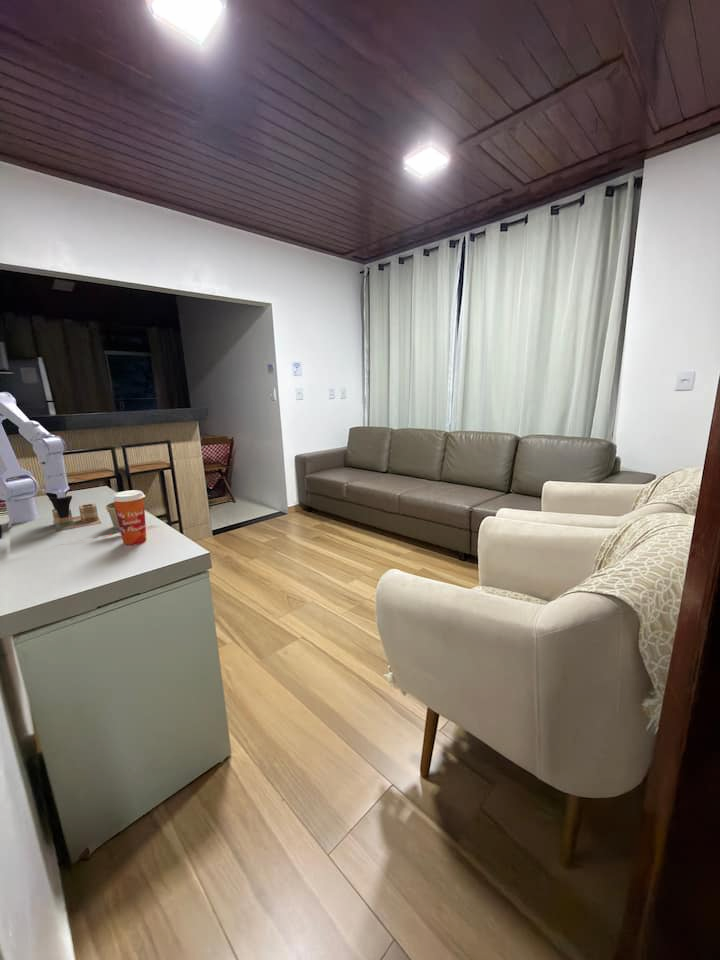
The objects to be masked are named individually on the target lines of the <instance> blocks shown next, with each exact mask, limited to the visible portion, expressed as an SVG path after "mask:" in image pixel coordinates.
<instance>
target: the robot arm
mask: <svg viewBox="0 0 720 960" xmlns="http://www.w3.org/2000/svg"><path fill="white" fill-rule="evenodd" d="M6 419H8V420H9V421H10V422H11V423H13V424H14V425H16V426H17V427H18V433H19V435H21V436H22V437H24V438H25V439H26V440H27V441H28V443H30V444H31V445H32V450H33V452H34V454H35V455H36V457H37V460H38V462H39V463H40V465H41V471H42V475H43V476H42V477H43V481H44V485H45V486H44V487H45V488H42V489H40V491H41V493H45V496H47V497H48V500H49V501H50V502H51V504H52V507H53V509H56V510H57V513H58V515H59V517H60V518H66V517H68V516H69V508H70V504H71V501H72V499H73V495H67V494H68V491H69V490H70V486H69V483H68V482H69V481H68V477H67V470H66V467H65V461H64V455H63V454H64V453H65V452H66V451H67V450H66V449H67V445H66V442H65V440H64V439H63V437H61V436H60V435H54V434H51V432H49V431H48V430H47V429H45V427H44V426H42V425H41V424H40V422H38V421H37V420H36V421H35V420H30V419H29V418H28V417H27V416H26V414H25V413H24V412H23V411H22V410H21V409H20V408H19V407H18V406H17V400H16V398H15V397H14V396H13V395H12V394H11V393H10V392H7V391H2V392H0V500H2V501H4V502H5V507H6V511H7V516H8V526H7V527H8V528H9V529H12V527H13V524H23V523H28V522H31V521H35V520H37V519H38V514H37V508H36V503H35V498H34V497H35V496H36V493H37V492H38V491H39V483H38V481H37V480H36V479H35V477H34V476H33V475H32V472H31V471H29V470H27V469H25V468H22V467H21V466H20V463H19V461H18V459H17V456H16V454H15V452H14V450H13V448H12V447H13V446H12V444H11V443H10V440H9V437H8V436H7V434H6V431H5V429H4V427H3V424H2V423H3V420H6Z"/></svg>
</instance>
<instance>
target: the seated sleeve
mask: <svg viewBox="0 0 720 960" xmlns="http://www.w3.org/2000/svg"><path fill="white" fill-rule="evenodd" d="M78 509H79V514H80V515H79V516H81V520H82V522H89V521H95V520H98V518H99V514H98V510H97V505H96V504H95V503H94V502H92V503H87V504H86V503H84V504H81V505H78Z"/></svg>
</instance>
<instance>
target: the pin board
mask: <svg viewBox="0 0 720 960" xmlns="http://www.w3.org/2000/svg"><path fill="white" fill-rule="evenodd" d="M99 518H100V517H98V520H95V521H89V522H82V520H81V516H80V515H79V516H72V519H73V524H71V525H66V526H61V527H56V525H55V523H54V520H53V525H54V530H55V532H56V533H57V532H62V531H67V530H68V531H69V530H73V529H74V530H75V529H78V528H83V527H89V526H95V525H101V524H102V521H101V520H100V519H99Z"/></svg>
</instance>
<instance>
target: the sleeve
mask: <svg viewBox="0 0 720 960" xmlns="http://www.w3.org/2000/svg"><path fill="white" fill-rule="evenodd" d="M51 512H52V516H53V518H52V519H53V521H54V522H53V524H54V523H55V525H56V527H61V526H66V525H71V524H73V519H72V517H73V515H72V514H73V513H72V509H71V508H70V507H69V516H68V517H66V518H60V517H59V515H58V513H57V510H56V509H54V508H53V509H51Z"/></svg>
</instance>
